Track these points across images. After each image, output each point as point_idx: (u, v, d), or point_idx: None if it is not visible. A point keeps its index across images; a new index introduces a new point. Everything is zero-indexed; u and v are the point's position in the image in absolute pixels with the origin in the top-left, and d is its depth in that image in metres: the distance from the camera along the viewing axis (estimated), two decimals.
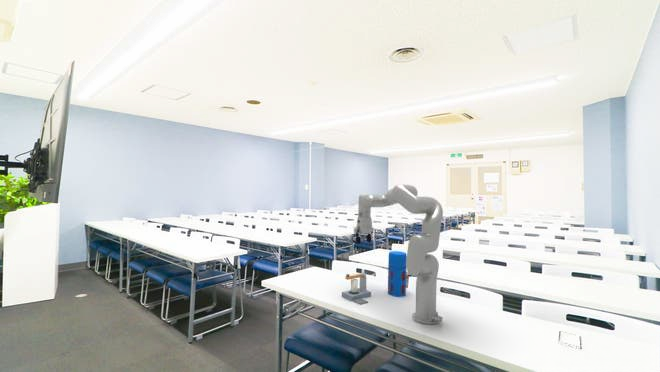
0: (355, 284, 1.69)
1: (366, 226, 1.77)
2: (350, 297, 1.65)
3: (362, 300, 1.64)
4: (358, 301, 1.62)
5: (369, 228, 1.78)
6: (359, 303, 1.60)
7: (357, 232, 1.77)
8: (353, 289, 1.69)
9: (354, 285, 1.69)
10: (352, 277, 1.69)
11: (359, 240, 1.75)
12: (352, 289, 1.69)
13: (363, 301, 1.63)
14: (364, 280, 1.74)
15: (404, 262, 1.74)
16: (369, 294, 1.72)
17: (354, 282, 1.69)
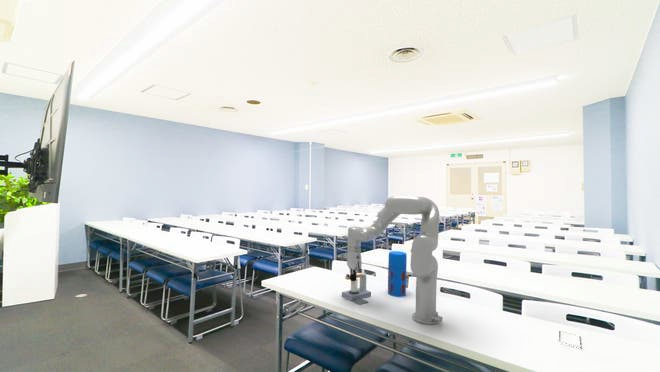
0: (355, 284, 1.69)
1: None
2: (350, 297, 1.65)
3: (362, 300, 1.64)
4: (358, 301, 1.62)
5: None
6: (359, 303, 1.60)
7: (353, 270, 1.65)
8: (353, 289, 1.69)
9: (354, 285, 1.69)
10: None
11: (355, 277, 1.67)
12: (352, 289, 1.69)
13: (363, 301, 1.63)
14: (364, 280, 1.74)
15: (404, 262, 1.74)
16: (369, 294, 1.72)
17: (354, 282, 1.69)
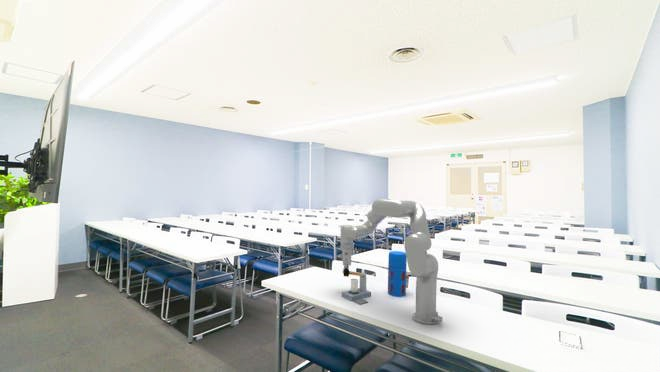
0: (355, 284, 1.69)
1: None
2: (350, 297, 1.65)
3: (362, 300, 1.64)
4: (358, 301, 1.62)
5: None
6: (359, 303, 1.60)
7: (344, 266, 1.75)
8: (353, 289, 1.69)
9: (354, 285, 1.69)
10: None
11: (348, 273, 1.76)
12: (352, 289, 1.69)
13: (363, 301, 1.63)
14: (364, 280, 1.74)
15: (404, 262, 1.74)
16: (369, 294, 1.72)
17: (354, 282, 1.69)
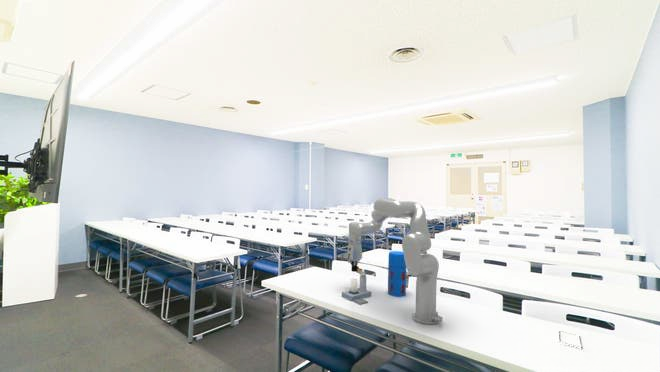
0: (355, 284, 1.69)
1: (356, 253, 1.82)
2: (350, 297, 1.65)
3: (362, 300, 1.64)
4: (358, 301, 1.62)
5: (359, 255, 1.84)
6: (359, 303, 1.60)
7: None
8: (352, 289, 1.69)
9: (354, 285, 1.69)
10: (357, 270, 1.84)
11: (354, 268, 1.83)
12: (352, 289, 1.70)
13: (363, 301, 1.63)
14: (364, 280, 1.74)
15: (404, 262, 1.74)
16: (369, 294, 1.72)
17: (354, 282, 1.69)
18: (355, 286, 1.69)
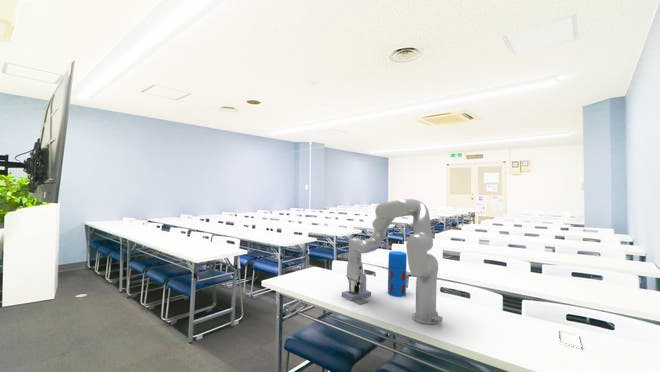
0: (354, 284, 1.69)
1: None
2: (350, 297, 1.65)
3: (362, 300, 1.64)
4: (358, 301, 1.62)
5: None
6: (359, 303, 1.60)
7: (356, 281, 1.68)
8: (352, 289, 1.69)
9: (353, 285, 1.69)
10: None
11: (358, 288, 1.70)
12: (352, 289, 1.70)
13: (363, 301, 1.63)
14: (364, 280, 1.74)
15: (404, 262, 1.74)
16: (369, 294, 1.72)
17: (353, 282, 1.69)
18: None
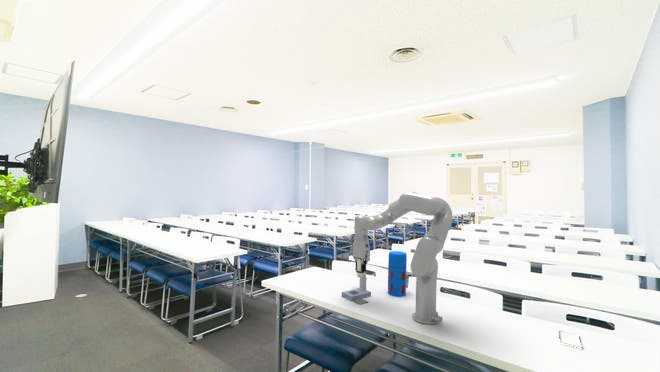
0: (361, 263, 1.63)
1: None
2: (350, 297, 1.65)
3: (362, 300, 1.64)
4: (358, 301, 1.62)
5: None
6: (359, 303, 1.60)
7: (363, 259, 1.62)
8: (359, 268, 1.63)
9: (360, 264, 1.63)
10: None
11: (365, 267, 1.63)
12: (358, 268, 1.63)
13: (363, 301, 1.63)
14: (364, 280, 1.74)
15: (404, 262, 1.74)
16: (369, 294, 1.72)
17: (360, 261, 1.63)
18: None
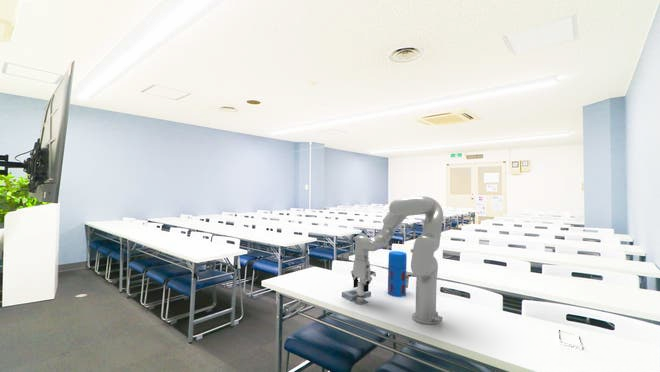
0: (362, 287, 1.62)
1: None
2: (350, 297, 1.65)
3: None
4: None
5: None
6: (359, 303, 1.60)
7: (365, 279, 1.60)
8: (359, 293, 1.62)
9: (361, 288, 1.62)
10: None
11: (368, 287, 1.61)
12: (359, 292, 1.62)
13: None
14: None
15: (404, 262, 1.74)
16: (369, 294, 1.72)
17: (361, 285, 1.62)
18: (362, 290, 1.62)
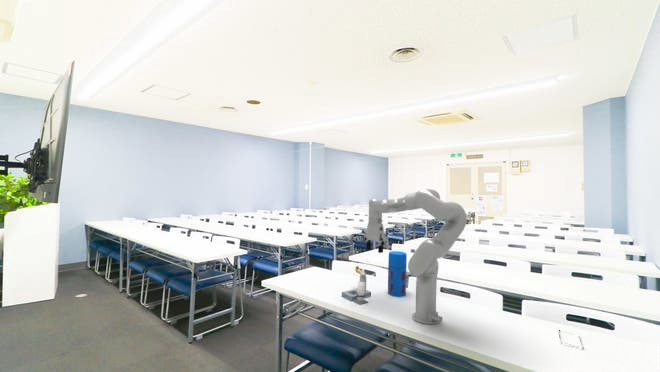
0: (362, 287, 1.62)
1: None
2: (350, 297, 1.65)
3: None
4: None
5: None
6: (359, 303, 1.60)
7: (379, 241, 1.61)
8: (359, 293, 1.62)
9: (361, 288, 1.62)
10: (357, 270, 1.84)
11: (382, 248, 1.62)
12: (359, 292, 1.62)
13: None
14: (364, 280, 1.74)
15: (404, 262, 1.74)
16: (369, 294, 1.72)
17: (361, 285, 1.62)
18: (362, 289, 1.62)
